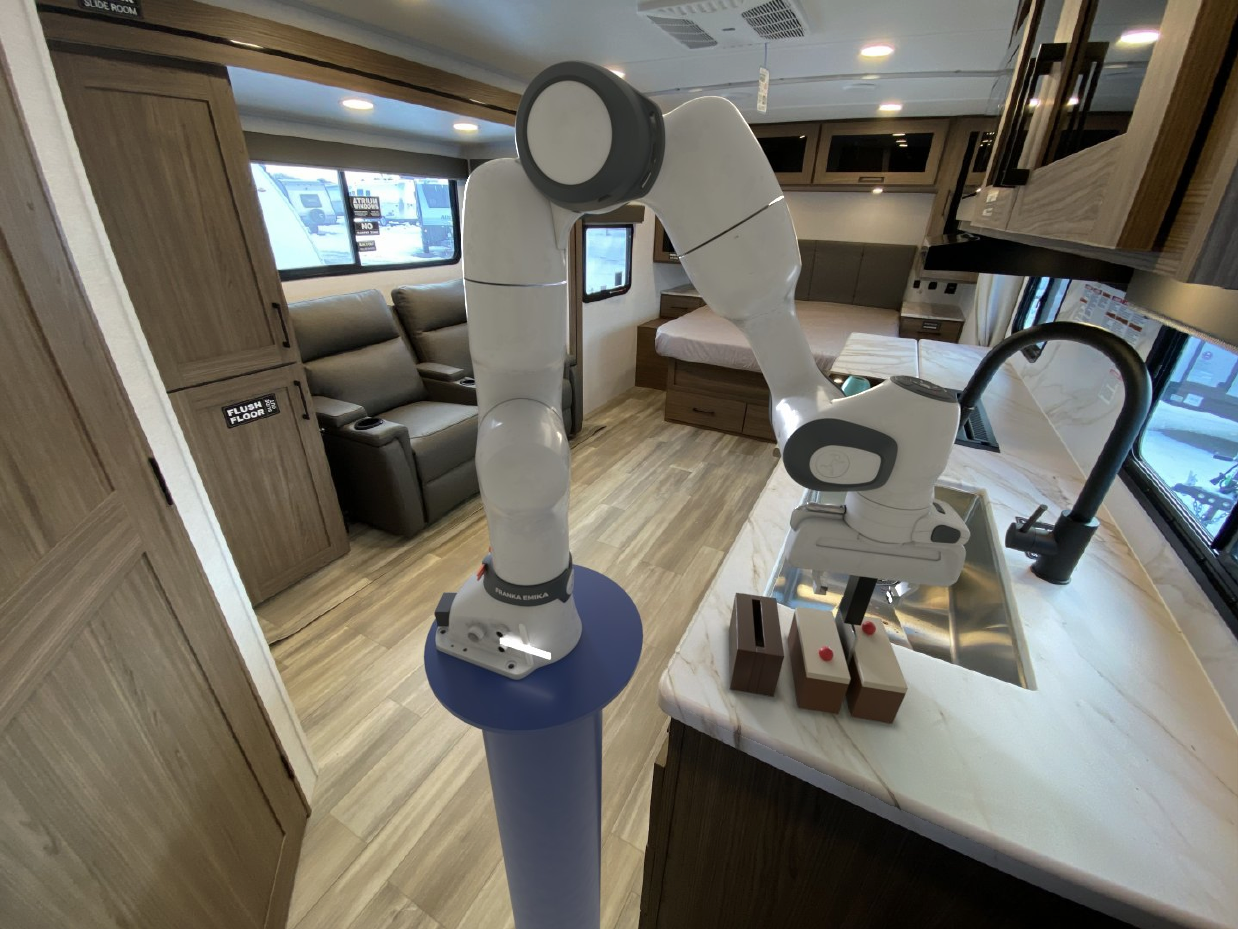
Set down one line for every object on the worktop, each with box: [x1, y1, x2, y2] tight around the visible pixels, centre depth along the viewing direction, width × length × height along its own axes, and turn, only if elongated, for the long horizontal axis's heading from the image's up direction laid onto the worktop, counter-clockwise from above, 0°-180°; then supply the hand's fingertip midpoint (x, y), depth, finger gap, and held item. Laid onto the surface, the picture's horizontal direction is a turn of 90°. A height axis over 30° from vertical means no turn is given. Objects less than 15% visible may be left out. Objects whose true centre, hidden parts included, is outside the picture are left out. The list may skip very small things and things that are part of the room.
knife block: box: [728, 592, 785, 698], centre depth 71 cm, size 6×11×8 cm, turn 170°
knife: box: [834, 575, 879, 667], centre depth 68 cm, size 2×8×19 cm, turn 170°
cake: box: [786, 605, 909, 725], centre depth 69 cm, size 12×12×8 cm
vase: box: [840, 375, 871, 397], centre depth 143 cm, size 12×12×18 cm
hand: (855, 596), depth 66 cm, fingers open, 8 cm apart
